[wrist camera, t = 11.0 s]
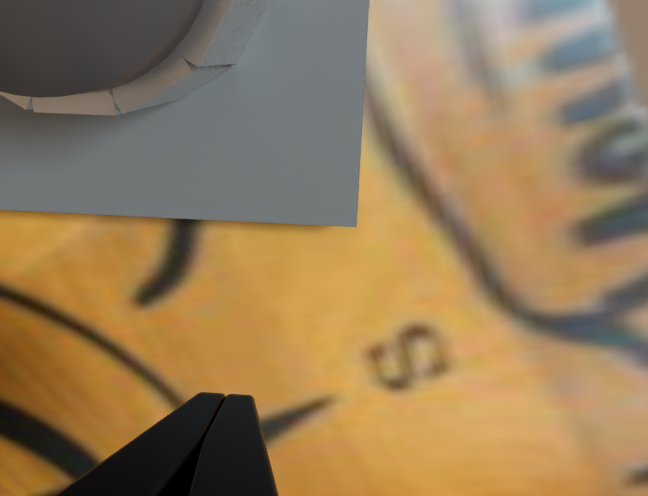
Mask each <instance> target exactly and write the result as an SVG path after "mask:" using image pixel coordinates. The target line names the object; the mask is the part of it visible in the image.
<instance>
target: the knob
mask: <svg viewBox="0 0 648 496" xmlns="http://www.w3.org/2000/svg"><path fill="white" fill-rule="evenodd" d="M203 2H204V0H0V92H4V93H8V94H13V95H18V96H27V97H37V98H41V97H62V96H69V95H76V94H83V93H90V92H96V91H102V90H107V89H112V88H115V87H118V86H121V85H124V84H127V83H129V82H131V81H133V80H135V79H137V78H139V77H141V76H143V75H145V74H146V73H148V72H149V71H151V70H152V69H153V68H155V67H156V66H157V65H159V64H160V63H162V62H163V61H164V60H165V59H166V58H167V57H168V56H169V55H170V54H171V53H172V52H173V51H174V50H175V49H176V48H177V46H178V45H179V44H180V43H181V41H182V40H183V39H184V37H185V36H186V35H187V33H188V32H189V30H190V28H191V27H192V25H193V23H194V21H195V20H196V18H197V16H198V15H199V12H200V10H201V7H202V5H203Z"/></svg>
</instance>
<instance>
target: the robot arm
mask: <svg viewBox="0 0 648 496" xmlns="http://www.w3.org/2000/svg"><path fill="white" fill-rule="evenodd" d="M55 496H278V492H277V488H276V484H275V480H274V476H273V472H272V468H271V464H270V460H269V456H268V452H267V448H266V444H265V440H264V437H263V433H262V429H261V425H260V421H259V417H258V413H257V409H256V405H255V401H254V398H253V397H252V396H251V395H239V394H229V395H227V396H225V395H224V394H222V393H207V392H201V393H199V394H197V395H195V396H194V397H193V398H191V399H190V400H188V401H187V402H186V403H184V404H183V405H181V406H180V407H179V408H177V409H176V410H174V411H173V412H172V413H170V414H169V415H167V416H166V417H165V418H163V419H162V420H160V421H159V422H158V423H156V424H155V425H153V426H152V427H151V428H149V429H148V430H146V431H145V432H143V433H142V434H141V435H139V436H138V437H136V438H135V439H134V440H132V441H131V442H129V443H128V444H127V445H125V446H124V447H122V448H121V449H120V450H118V451H117V452H115V453H114V454H113V455H111V456H110V457H108V458H107V459H106V460H104V461H103V462H101V463H100V464H99V465H97V466H96V467H94V468H93V469H92V470H90V471H89V472H87V473H86V474H85V475H83V476H82V477H80V478H79V479H77V480H76V481H75V482H73V483H72V484H70V485H69V486H68V487H66V488H65V489H63V490H62V491H61V492H59V493H58V494H56V495H55Z"/></svg>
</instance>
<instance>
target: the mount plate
mask: <svg viewBox="0 0 648 496" xmlns="http://www.w3.org/2000/svg"><path fill="white" fill-rule="evenodd" d="M265 1H266V2H268V3H269V5H268V7H267V9H266V11H265V13H264V15H263V17H262V18H261V20H260V22H259V24H258V26H257V28H256V30H255V32H254V33H253V35H252V37H251V39H250V41H249V43H248V45H247V47H246V48H245V50H244V52H243V54H242V56H241V58H240V60H239V62H238V63H237V64H231V65H232V67H233V69H231V70H229V71H227V72H226V73H224V74H222V75H221V76H219V77H217V78H215V79H214V80H212V81H210V82H209V83H207V84H205V85H203V86H202V87H200V88H198V89H197V90H195V91H193V92H191V93H190V94H188V95H186V96H185V97H183V98H181V99H179V100H175V101H171V102H167V103H163V104H159V105H155V106H151V107H147V108H143V109H139V110H136V111H132V112H128V113H124V114H119V115H115V116H113V115H88V114H63V113H39V112H34V110H33V109H28V110H25V109H24V108H22V107H20V106H19V105H17V104H15V103H14V102H12V101H10V100H9V99H7V98H5V97H4V96H2V95H0V210H14V211H34V212H55V213H76V214H96V215H117V216H138V217H159V218H179V219H200V220H221V221H241V222H262V223H283V224H303V225H324V226H345V227H356V226H357V208H358V190H359V172H360V154H361V136H362V118H363V101H364V83H365V65H366V47H367V29H368V11H369V0H265Z"/></svg>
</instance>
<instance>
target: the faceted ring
mask: <svg viewBox="0 0 648 496" xmlns="http://www.w3.org/2000/svg"><path fill="white" fill-rule="evenodd" d="M268 5H269V3H268V2H266V1H265V0H204V2H203V5H202V7H201V10H200V12H199V15H198V16H197V18H196V20H195V21H194V23H193V25H192V27H191V28H190V30H189V32H188V33H187V35H186V36H185V37H184V39H183V40H182V41H181V43H180V44H179V45H178V46H177V48H176V49H175V50H174V51H173V52H172V53H171V54H170V55H169V56H168V57H167V58H166V59H165V60H164V61H163V62H162V63H160V64H159V65H157V66H156V67H155V68H153V69H152V70H151V71H149V72H148V73H146V74H145V75H143V76H141V77H139V78H137V79H135V80H133V81H131V82H129V83H127V84H124V85H121V86H118V87H115V88H112V89H107V90H102V91H96V92H90V93H83V94H76V95H69V96H62V97H41V98H37V97H27V96H18V95H13V94H8V93H4V92H0V95H2V96H4V97H5V98H7V99H9V100H10V101H12V102H14V103H15V104H17V105H19V106H20V107H22V108H24V109H25V110H28V109H33V110H34V112H39V113H63V114H88V115H113V116H115V115H119V114H124V113H128V112H132V111H136V110H139V109H143V108H147V107H151V106H155V105H159V104H163V103H167V102H171V101H175V100H179V99H181V98H183V97H185V96H186V95H188V94H190V93H191V92H193V91H195V90H197V89H198V88H200V87H202V86H203V85H205V84H207V83H209V82H210V81H212V80H214V79H215V78H217V77H219V76H221V75H222V74H224V73H226V72H227V71H229V70H231V69H233V67H232V65H231V64H237V63H238V62H239V60H240V58H241V56H242V54H243V52H244V50H245V48H246V47H247V45H248V43H249V41H250V39H251V37H252V35H253V33H254V32H255V30H256V28H257V26H258V24H259V22H260V20H261V18H262V17H263V15H264V13H265V11H266V9H267V7H268Z"/></svg>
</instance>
